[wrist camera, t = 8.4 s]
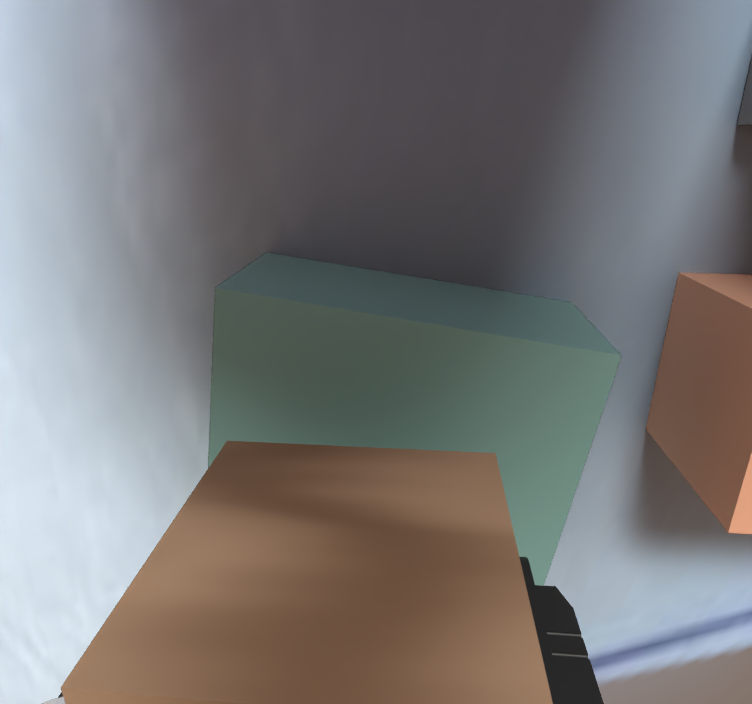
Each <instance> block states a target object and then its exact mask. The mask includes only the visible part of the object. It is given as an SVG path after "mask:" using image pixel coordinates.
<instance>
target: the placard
mask: <svg viewBox="0 0 752 704" xmlns="http://www.w3.org/2000/svg"><path fill="white" fill-rule="evenodd" d="M737 125H752V59H751V64H750V68H749V73H748V77H747V82H746V86H745V91H744V95H743V100H742V104H741V109H740V113H739V118H738V122H737Z"/></svg>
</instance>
